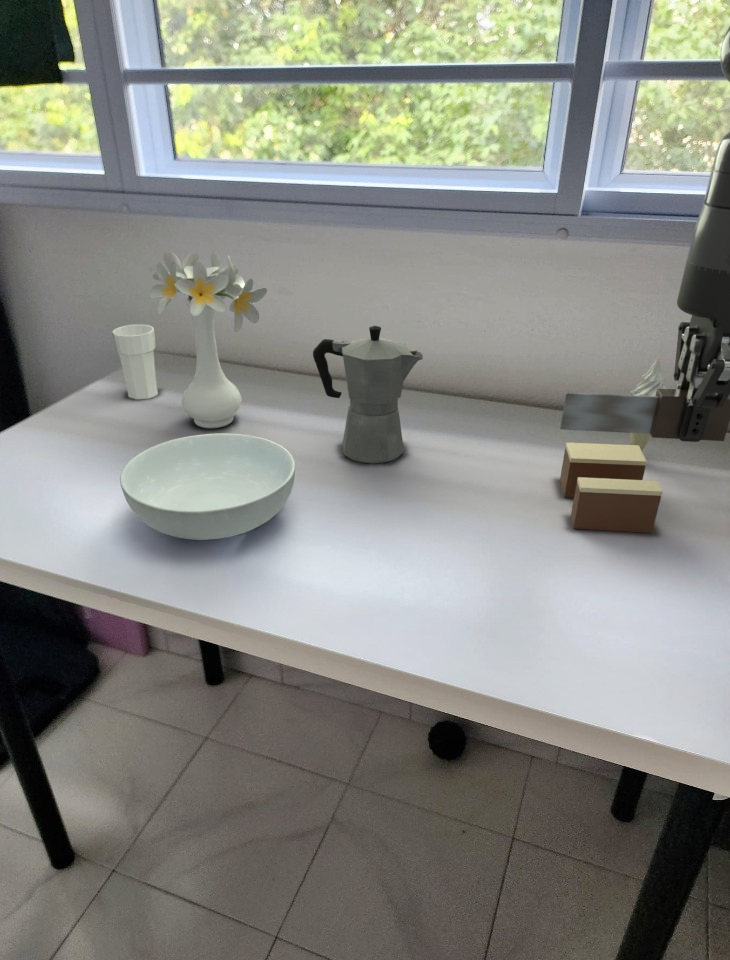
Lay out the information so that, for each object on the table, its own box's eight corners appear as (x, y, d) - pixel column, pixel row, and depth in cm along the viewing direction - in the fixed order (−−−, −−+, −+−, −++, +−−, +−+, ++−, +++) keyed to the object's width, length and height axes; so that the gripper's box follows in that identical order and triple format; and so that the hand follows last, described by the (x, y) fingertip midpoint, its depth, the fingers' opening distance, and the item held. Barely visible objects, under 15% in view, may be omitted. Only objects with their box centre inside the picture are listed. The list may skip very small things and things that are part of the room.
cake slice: (647, 521, 90) (657, 480, 87) (652, 533, 88) (662, 491, 85) (570, 517, 91) (577, 477, 88) (573, 528, 89) (581, 487, 86)
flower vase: (248, 447, 110) (234, 270, 96) (146, 426, 117) (119, 259, 103) (289, 414, 120) (282, 250, 106) (193, 397, 127) (175, 241, 113)
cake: (630, 484, 98) (639, 445, 95) (637, 501, 94) (647, 461, 91) (559, 480, 99) (566, 442, 96) (564, 497, 96) (571, 458, 93)
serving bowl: (321, 490, 98) (320, 442, 95) (255, 578, 82) (250, 524, 78) (181, 468, 105) (175, 422, 101) (94, 545, 88) (82, 494, 84)
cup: (153, 402, 125) (143, 337, 119) (116, 399, 127) (105, 335, 121) (168, 388, 131) (160, 325, 125) (134, 385, 132) (123, 323, 126)
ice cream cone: (616, 468, 102) (639, 361, 94) (613, 452, 106) (635, 348, 98) (656, 471, 101) (682, 364, 93) (651, 455, 105) (676, 351, 97)
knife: (717, 432, 78) (729, 391, 75) (724, 441, 76) (736, 399, 73) (559, 424, 80) (565, 384, 77) (561, 433, 78) (568, 392, 75)
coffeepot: (425, 442, 110) (432, 320, 100) (409, 470, 103) (415, 341, 93) (326, 429, 115) (324, 311, 105) (304, 455, 107) (299, 330, 97)
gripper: (806, 278, 62) (745, 466, 71) (751, 244, 73) (704, 410, 82) (710, 275, 63) (662, 462, 72) (670, 242, 74) (633, 406, 83)
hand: (685, 433), depth 77 cm, fingers closed on knife, 2 cm apart
